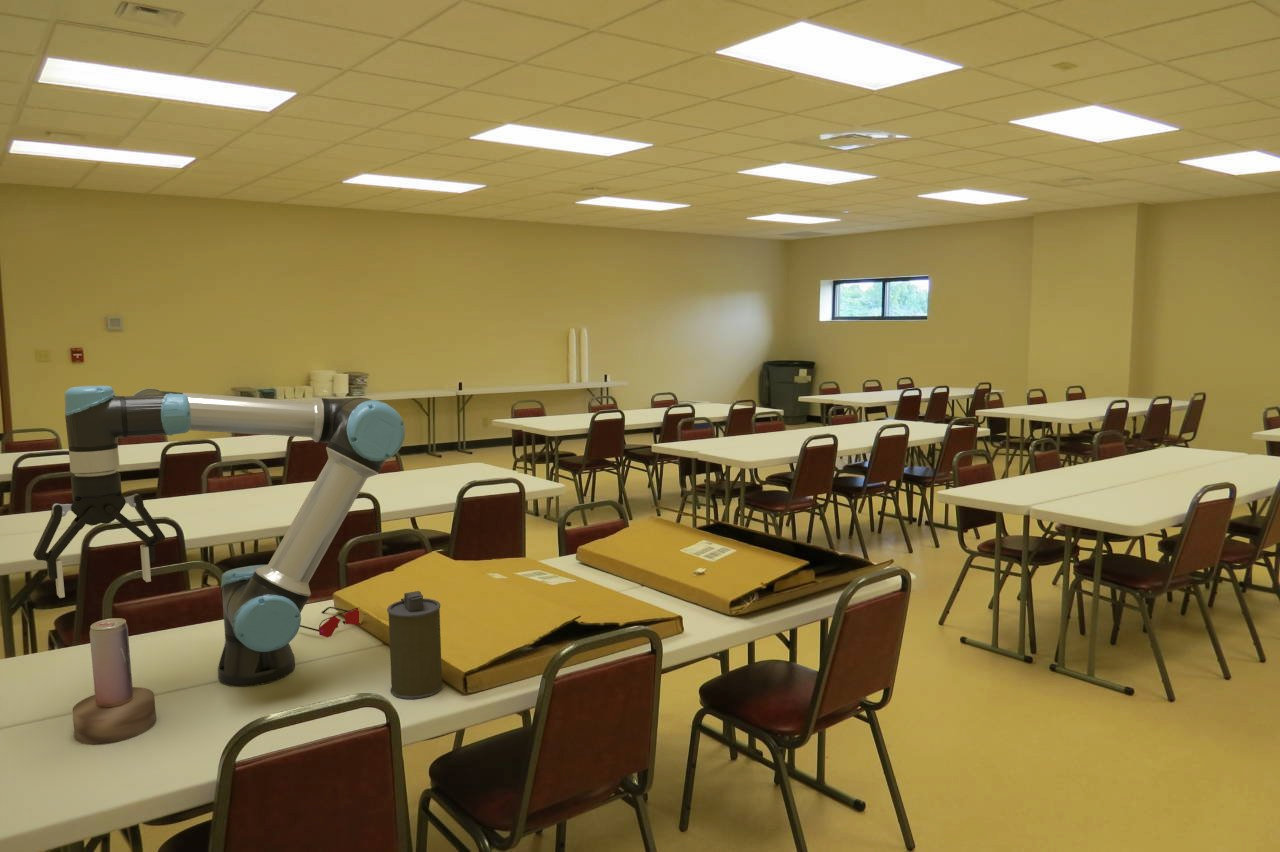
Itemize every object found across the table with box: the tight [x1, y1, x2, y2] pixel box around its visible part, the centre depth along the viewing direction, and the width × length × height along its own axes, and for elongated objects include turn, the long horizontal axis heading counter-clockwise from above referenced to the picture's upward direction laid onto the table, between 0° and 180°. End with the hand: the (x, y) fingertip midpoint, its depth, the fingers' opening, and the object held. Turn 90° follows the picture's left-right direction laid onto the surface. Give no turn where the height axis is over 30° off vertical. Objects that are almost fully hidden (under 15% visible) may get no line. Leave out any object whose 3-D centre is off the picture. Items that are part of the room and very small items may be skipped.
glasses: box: [300, 606, 361, 638], centre depth 215 cm, size 14×16×5 cm
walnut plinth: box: [71, 686, 157, 746], centre depth 162 cm, size 13×13×5 cm
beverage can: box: [89, 617, 134, 708], centre depth 161 cm, size 6×6×15 cm
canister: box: [386, 590, 444, 700], centre depth 178 cm, size 11×10×20 cm
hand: (105, 588), depth 159 cm, fingers open, 13 cm apart
